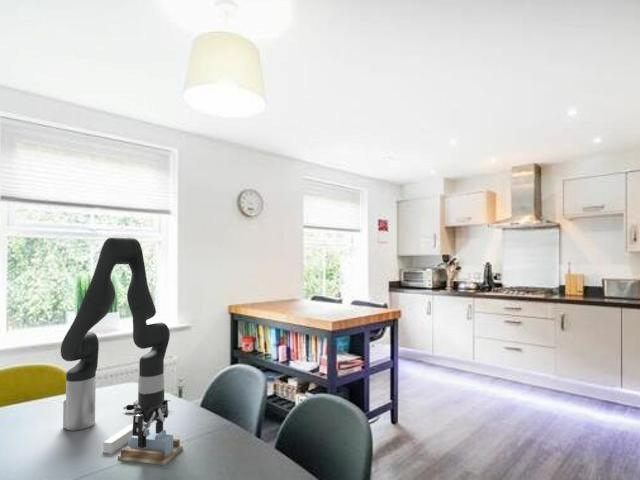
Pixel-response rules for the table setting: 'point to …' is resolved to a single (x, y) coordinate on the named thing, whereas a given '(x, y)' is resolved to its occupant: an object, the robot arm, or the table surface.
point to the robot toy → (134, 407)
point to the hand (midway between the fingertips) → (151, 440)
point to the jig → (150, 454)
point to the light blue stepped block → (154, 442)
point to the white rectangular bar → (118, 439)
